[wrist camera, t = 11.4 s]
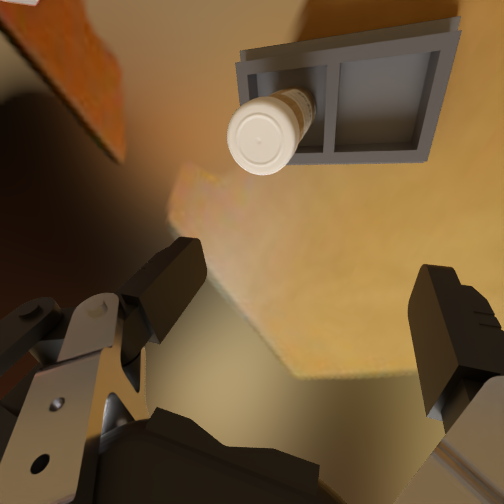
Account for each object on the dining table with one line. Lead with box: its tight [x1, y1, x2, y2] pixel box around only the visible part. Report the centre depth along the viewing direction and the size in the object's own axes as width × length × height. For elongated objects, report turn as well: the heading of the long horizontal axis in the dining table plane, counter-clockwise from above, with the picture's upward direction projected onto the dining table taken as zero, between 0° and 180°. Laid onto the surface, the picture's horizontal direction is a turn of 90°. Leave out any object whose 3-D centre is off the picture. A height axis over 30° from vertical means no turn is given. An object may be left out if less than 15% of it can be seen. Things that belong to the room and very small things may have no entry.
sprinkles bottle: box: [227, 85, 316, 175], centre depth 22 cm, size 5×5×13 cm
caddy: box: [235, 16, 462, 165], centre depth 25 cm, size 18×11×4 cm, turn 97°
